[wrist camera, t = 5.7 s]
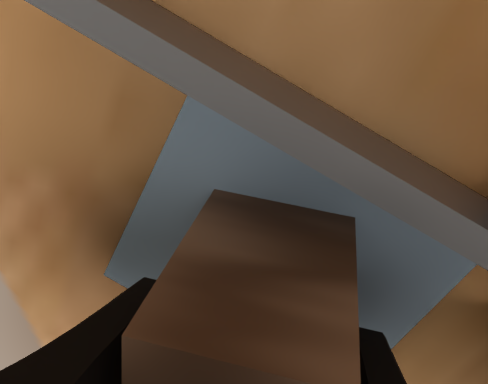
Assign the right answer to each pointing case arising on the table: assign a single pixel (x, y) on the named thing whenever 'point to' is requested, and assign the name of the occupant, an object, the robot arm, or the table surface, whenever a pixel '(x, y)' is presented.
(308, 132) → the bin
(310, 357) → the walnut block
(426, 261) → the mat
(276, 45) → the table surface
